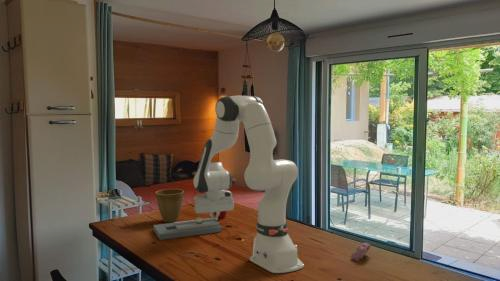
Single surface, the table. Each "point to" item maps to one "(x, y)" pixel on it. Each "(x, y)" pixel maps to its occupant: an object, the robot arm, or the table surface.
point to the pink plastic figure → (361, 251)
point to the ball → (199, 220)
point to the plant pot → (170, 203)
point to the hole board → (186, 229)
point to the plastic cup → (221, 214)
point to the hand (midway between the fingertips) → (214, 220)
